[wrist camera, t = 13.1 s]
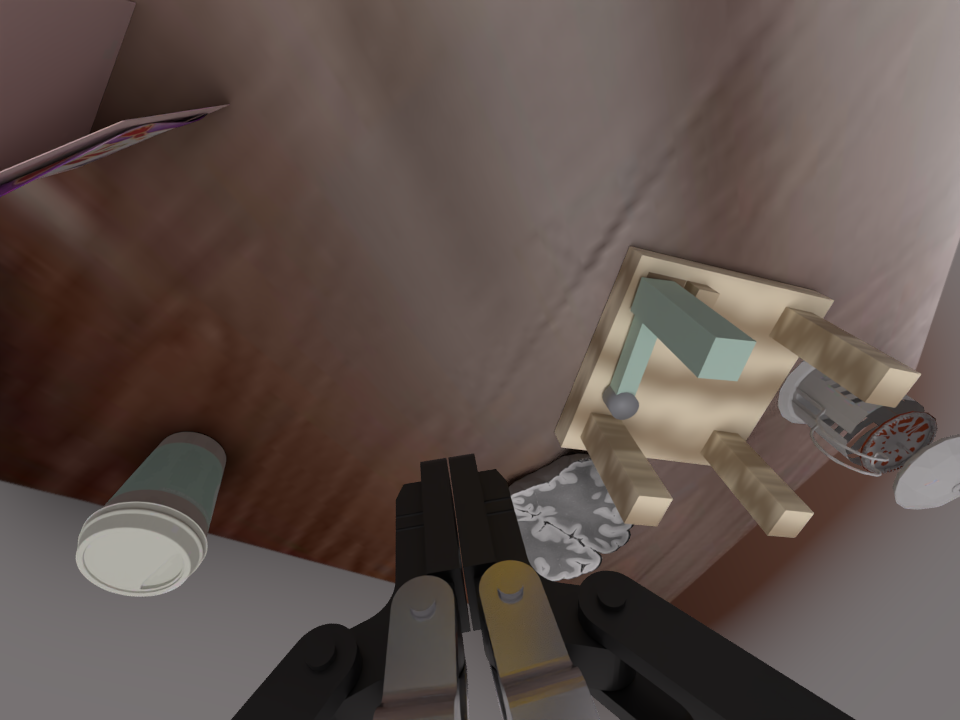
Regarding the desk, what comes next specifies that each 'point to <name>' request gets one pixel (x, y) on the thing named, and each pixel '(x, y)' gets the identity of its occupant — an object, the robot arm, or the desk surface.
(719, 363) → the hinged leg
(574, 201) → the desk surface
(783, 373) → the stool seat
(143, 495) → the coffee cup
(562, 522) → the brain slice
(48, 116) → the greeting card
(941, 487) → the french press
